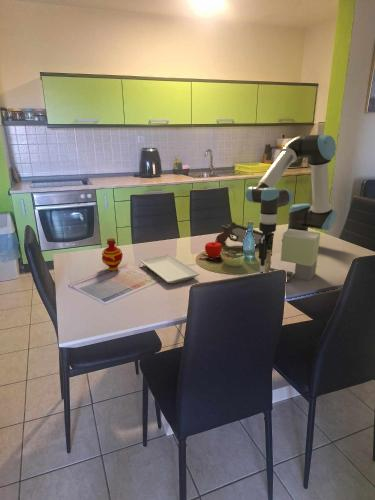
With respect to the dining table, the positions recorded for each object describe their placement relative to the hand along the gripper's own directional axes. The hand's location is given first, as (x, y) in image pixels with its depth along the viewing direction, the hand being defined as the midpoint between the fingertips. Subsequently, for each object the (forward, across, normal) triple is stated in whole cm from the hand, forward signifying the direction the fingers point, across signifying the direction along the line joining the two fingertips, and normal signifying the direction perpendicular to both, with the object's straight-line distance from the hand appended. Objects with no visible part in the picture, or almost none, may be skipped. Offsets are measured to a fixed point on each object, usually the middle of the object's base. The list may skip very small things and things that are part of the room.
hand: (264, 269), depth 163 cm
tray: (+2, +24, -39) cm, 46 cm away
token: (+1, +4, +11) cm, 12 cm away
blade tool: (0, 0, +6) cm, 6 cm away
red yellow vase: (+1, +35, -65) cm, 74 cm away
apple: (+2, -6, -31) cm, 32 cm away
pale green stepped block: (+1, -6, +14) cm, 15 cm away
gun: (+2, -32, -27) cm, 42 cm away
